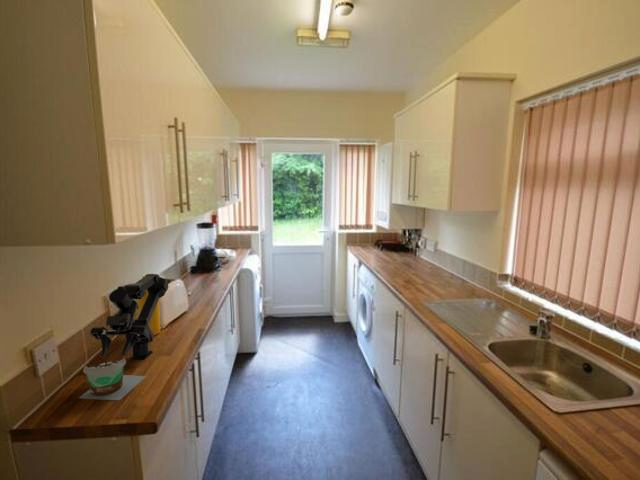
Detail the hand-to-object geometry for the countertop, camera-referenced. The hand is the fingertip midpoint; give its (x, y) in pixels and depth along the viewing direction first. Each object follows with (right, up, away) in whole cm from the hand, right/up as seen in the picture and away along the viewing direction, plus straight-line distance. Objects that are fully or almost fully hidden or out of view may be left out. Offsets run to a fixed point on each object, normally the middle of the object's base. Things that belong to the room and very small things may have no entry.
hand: (113, 356), depth 118 cm
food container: (+1, -11, -4) cm, 12 cm away
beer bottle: (-10, -5, +46) cm, 48 cm away
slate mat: (+1, -10, -1) cm, 11 cm away
